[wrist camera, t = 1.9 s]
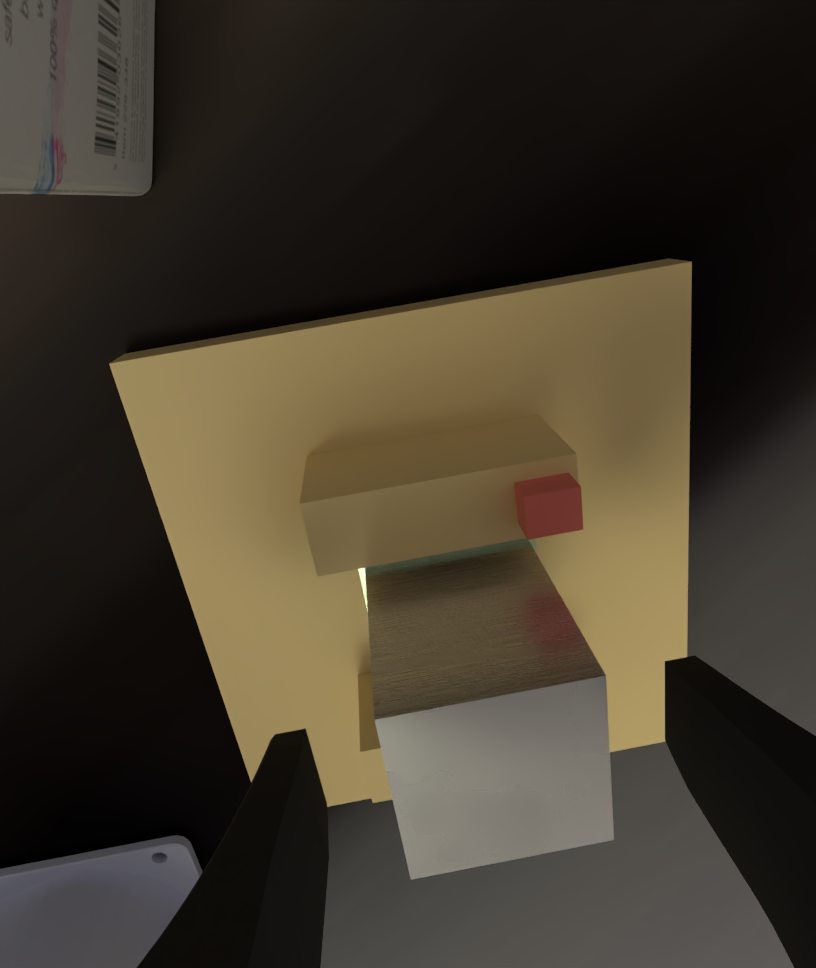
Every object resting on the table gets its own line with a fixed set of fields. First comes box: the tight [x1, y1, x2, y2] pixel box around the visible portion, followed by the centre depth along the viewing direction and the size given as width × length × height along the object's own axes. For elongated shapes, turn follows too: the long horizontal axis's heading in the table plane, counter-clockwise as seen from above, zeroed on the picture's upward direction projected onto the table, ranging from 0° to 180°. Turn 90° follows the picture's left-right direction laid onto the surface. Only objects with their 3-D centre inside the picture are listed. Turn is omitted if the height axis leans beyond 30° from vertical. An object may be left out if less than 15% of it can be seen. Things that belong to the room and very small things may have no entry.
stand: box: [109, 259, 692, 807], centre depth 17 cm, size 14×15×5 cm
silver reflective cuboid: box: [358, 538, 614, 880], centre depth 15 cm, size 4×4×7 cm
